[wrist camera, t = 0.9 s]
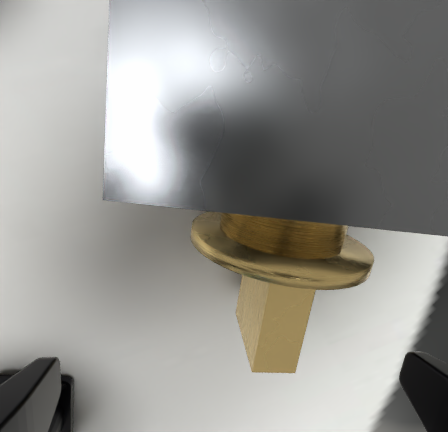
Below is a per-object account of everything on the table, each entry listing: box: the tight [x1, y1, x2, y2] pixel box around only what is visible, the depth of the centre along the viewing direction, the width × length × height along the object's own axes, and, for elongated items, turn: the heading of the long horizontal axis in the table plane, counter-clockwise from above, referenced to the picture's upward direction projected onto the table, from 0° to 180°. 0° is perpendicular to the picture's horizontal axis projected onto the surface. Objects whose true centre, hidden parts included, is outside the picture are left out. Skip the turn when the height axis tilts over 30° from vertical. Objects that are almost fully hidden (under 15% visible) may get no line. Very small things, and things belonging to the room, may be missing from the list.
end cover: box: [191, 212, 374, 373], centre depth 14 cm, size 11×8×8 cm
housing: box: [103, 0, 448, 236], centre depth 12 cm, size 12×14×9 cm
